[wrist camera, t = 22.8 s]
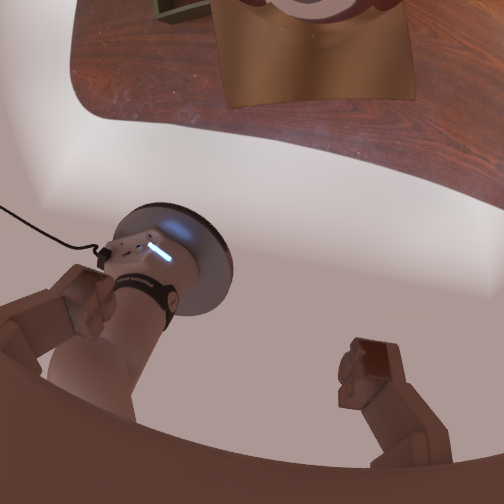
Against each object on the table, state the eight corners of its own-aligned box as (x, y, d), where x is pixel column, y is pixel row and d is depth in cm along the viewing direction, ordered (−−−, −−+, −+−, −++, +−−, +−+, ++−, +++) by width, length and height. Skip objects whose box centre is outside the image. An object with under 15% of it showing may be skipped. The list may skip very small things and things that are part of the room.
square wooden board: (230, 108, 20) (227, 109, 19) (205, -43, 13) (201, -48, 13) (411, 100, 17) (416, 101, 16) (384, -55, 11) (386, -60, 10)
